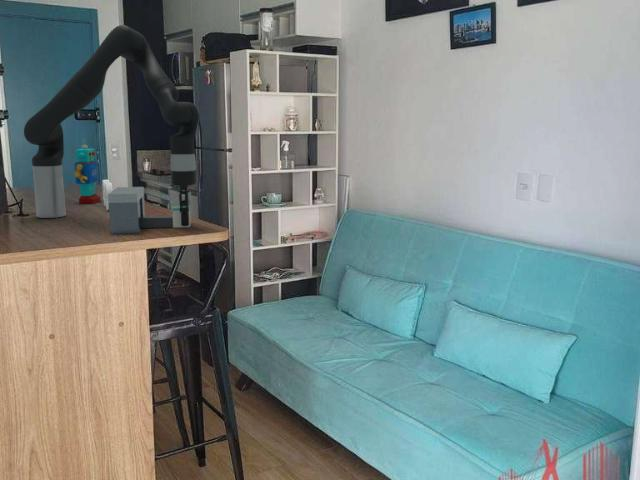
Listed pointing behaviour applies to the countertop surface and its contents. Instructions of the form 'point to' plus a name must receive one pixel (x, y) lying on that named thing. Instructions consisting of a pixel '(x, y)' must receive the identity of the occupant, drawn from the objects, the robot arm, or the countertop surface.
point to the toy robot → (86, 175)
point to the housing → (126, 209)
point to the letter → (106, 192)
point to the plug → (165, 220)
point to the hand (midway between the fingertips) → (185, 224)
